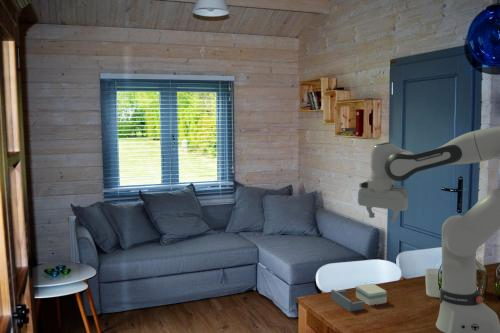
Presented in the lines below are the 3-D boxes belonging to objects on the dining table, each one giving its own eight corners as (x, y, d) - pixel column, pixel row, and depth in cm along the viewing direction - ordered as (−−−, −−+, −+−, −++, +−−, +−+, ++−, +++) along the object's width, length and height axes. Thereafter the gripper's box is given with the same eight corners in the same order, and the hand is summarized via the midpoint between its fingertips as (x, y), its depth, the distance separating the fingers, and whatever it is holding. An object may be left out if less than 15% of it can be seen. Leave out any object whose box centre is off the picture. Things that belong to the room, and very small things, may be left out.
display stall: (344, 296, 205) (344, 287, 205) (364, 309, 192) (364, 299, 192) (331, 299, 203) (331, 289, 202) (349, 311, 190) (349, 301, 189)
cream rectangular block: (372, 294, 207) (372, 283, 207) (386, 303, 198) (386, 291, 197) (355, 297, 205) (355, 285, 204) (369, 306, 195) (369, 294, 195)
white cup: (422, 291, 209) (422, 268, 208) (441, 291, 209) (441, 268, 208) (428, 298, 202) (428, 274, 200) (447, 298, 201) (448, 274, 200)
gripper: (411, 185, 187) (411, 221, 188) (364, 181, 201) (364, 214, 203) (403, 187, 182) (403, 224, 184) (355, 183, 197) (355, 217, 198)
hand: (382, 219), depth 193 cm, fingers open, 8 cm apart
